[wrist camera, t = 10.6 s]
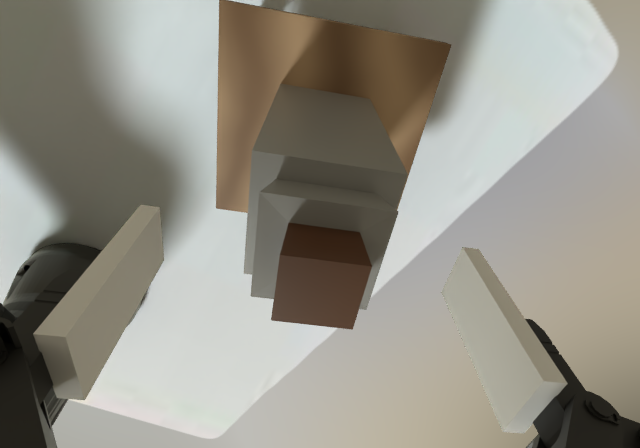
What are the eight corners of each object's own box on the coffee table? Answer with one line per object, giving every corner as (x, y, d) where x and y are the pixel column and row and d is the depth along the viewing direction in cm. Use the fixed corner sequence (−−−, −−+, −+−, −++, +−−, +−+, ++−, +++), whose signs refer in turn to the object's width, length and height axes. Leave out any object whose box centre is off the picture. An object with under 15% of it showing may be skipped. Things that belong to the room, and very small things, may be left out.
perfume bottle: (351, 179, 31) (383, 361, 15) (272, 167, 30) (224, 344, 15) (370, 98, 27) (437, 232, 12) (280, 83, 26) (229, 203, 11)
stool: (237, 163, 40) (216, 208, 32) (245, -2, 32) (219, -1, 23) (375, 184, 42) (389, 232, 33) (417, 32, 33) (451, 44, 25)
